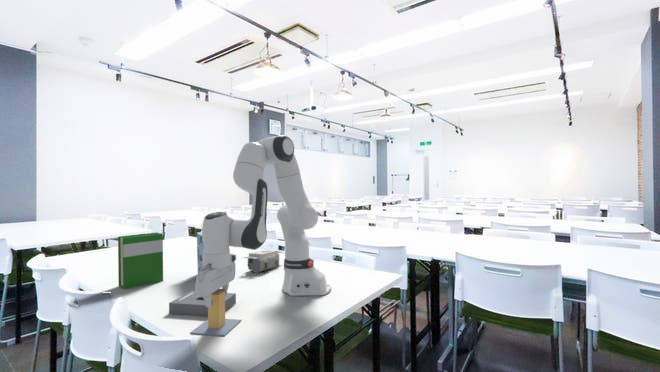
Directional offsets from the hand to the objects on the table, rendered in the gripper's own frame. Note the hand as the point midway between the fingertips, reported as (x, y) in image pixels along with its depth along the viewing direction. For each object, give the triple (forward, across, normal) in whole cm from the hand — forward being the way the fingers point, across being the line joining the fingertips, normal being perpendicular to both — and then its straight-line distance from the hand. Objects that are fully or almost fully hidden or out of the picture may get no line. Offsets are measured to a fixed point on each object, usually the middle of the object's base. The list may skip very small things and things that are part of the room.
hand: (216, 301), depth 110 cm
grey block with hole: (+9, +15, +14) cm, 22 cm away
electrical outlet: (+9, +77, +14) cm, 79 cm away
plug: (+8, 0, 0) cm, 8 cm away
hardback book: (+9, +40, +63) cm, 75 cm away
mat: (+9, 0, 0) cm, 9 cm away
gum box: (+9, +54, +37) cm, 66 cm away
